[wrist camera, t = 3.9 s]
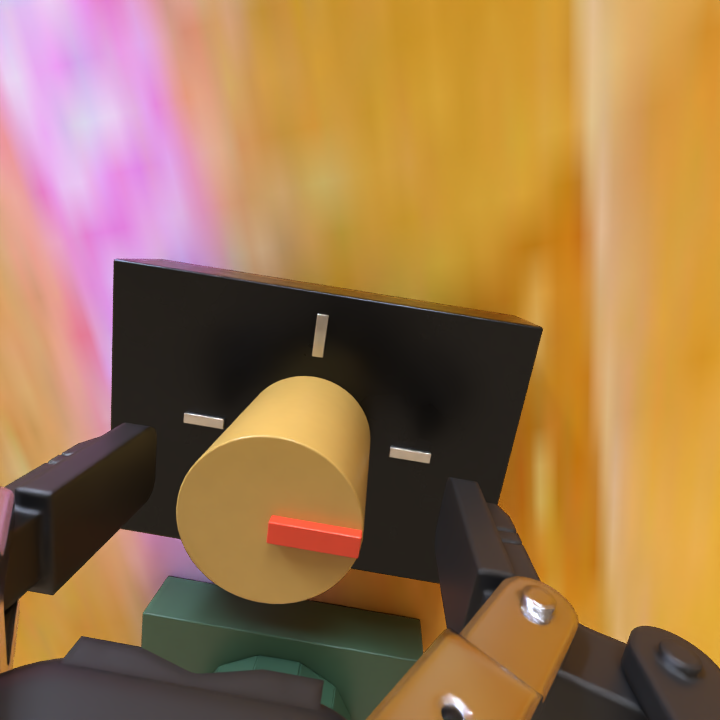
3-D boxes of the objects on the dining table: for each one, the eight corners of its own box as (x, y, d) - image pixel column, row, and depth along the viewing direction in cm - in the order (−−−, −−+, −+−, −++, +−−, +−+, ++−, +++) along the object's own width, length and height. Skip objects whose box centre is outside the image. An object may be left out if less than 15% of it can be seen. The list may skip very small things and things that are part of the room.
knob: (239, 483, 15) (164, 597, 10) (249, 365, 14) (173, 425, 9) (360, 503, 15) (347, 629, 10) (380, 387, 14) (378, 460, 9)
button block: (159, 721, 22) (111, 819, 18) (167, 575, 20) (115, 651, 16) (387, 762, 22) (388, 870, 18) (420, 619, 20) (429, 707, 16)
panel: (150, 486, 19) (105, 530, 16) (160, 258, 17) (109, 258, 13) (461, 539, 19) (476, 594, 16) (515, 315, 16) (546, 328, 13)
